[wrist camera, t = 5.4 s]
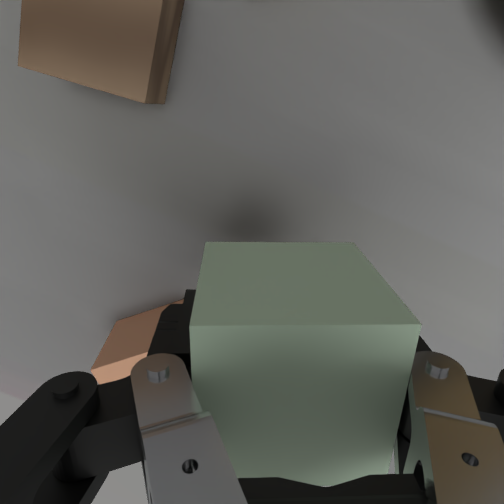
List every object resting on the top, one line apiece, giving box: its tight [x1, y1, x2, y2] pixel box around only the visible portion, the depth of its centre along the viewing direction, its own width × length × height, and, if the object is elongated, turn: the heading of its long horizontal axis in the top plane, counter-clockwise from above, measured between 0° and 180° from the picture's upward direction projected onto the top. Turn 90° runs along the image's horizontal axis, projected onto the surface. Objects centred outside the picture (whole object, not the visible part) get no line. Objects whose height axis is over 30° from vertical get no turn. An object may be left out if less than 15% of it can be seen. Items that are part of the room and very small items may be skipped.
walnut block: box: [18, 0, 184, 104], centre depth 17 cm, size 5×5×5 cm
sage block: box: [189, 242, 422, 486], centre depth 11 cm, size 5×5×5 cm
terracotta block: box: [91, 299, 184, 384], centre depth 23 cm, size 5×5×5 cm
